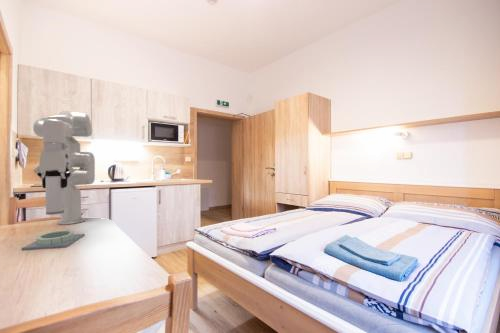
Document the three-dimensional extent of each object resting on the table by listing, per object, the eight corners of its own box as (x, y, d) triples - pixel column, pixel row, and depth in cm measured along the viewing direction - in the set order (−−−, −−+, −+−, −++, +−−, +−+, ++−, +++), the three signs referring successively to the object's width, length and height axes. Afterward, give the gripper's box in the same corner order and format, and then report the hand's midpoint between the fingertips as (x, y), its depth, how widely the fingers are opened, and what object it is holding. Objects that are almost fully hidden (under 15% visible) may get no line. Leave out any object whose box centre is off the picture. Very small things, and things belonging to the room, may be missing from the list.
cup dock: (47, 237, 112) (46, 230, 112) (84, 235, 115) (84, 228, 115) (21, 250, 96) (21, 241, 96) (66, 247, 99) (66, 239, 99)
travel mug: (68, 211, 108) (67, 168, 108) (55, 215, 102) (54, 168, 101) (56, 211, 109) (55, 168, 108) (42, 214, 102) (41, 168, 102)
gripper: (80, 148, 110) (81, 186, 110) (37, 147, 107) (38, 187, 107) (71, 147, 103) (72, 188, 103) (25, 146, 99) (26, 189, 100)
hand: (55, 187), depth 105 cm, fingers closed on travel mug, 6 cm apart
